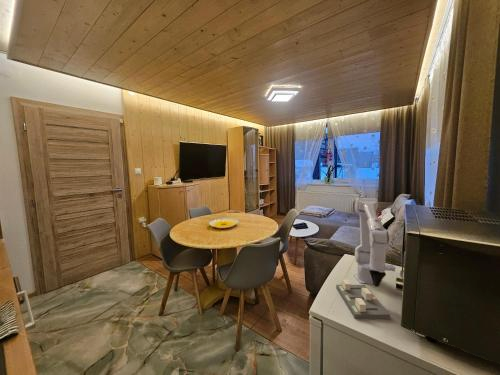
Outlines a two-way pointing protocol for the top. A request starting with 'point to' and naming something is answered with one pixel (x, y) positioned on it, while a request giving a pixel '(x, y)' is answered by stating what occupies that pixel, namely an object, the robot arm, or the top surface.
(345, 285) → the block
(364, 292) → the breaker
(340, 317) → the top surface
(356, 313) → the breaker panel
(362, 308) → the block
